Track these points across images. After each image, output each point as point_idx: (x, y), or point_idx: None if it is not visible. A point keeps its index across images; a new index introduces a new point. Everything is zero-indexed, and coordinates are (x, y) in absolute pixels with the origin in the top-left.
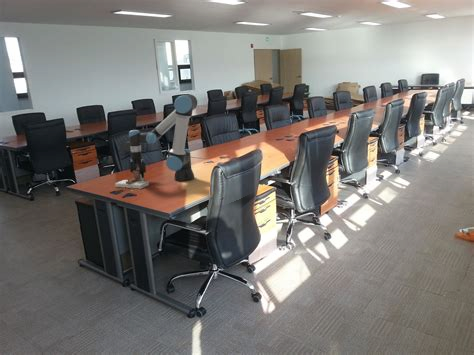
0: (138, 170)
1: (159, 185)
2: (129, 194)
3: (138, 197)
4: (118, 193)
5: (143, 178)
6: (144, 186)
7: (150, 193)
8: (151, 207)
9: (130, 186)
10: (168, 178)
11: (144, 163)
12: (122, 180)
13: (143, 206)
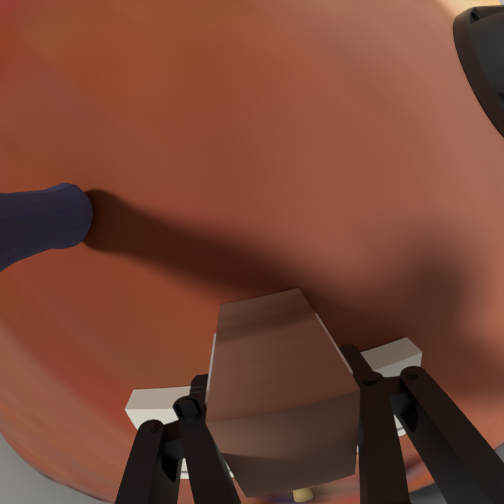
0: (342, 469)
1: (478, 295)
2: None
3: None
4: (317, 495)
5: (327, 332)
6: None
7: (472, 410)
8: (494, 446)
9: None
10: (423, 76)
11: (497, 478)
12: (136, 426)
13: None
